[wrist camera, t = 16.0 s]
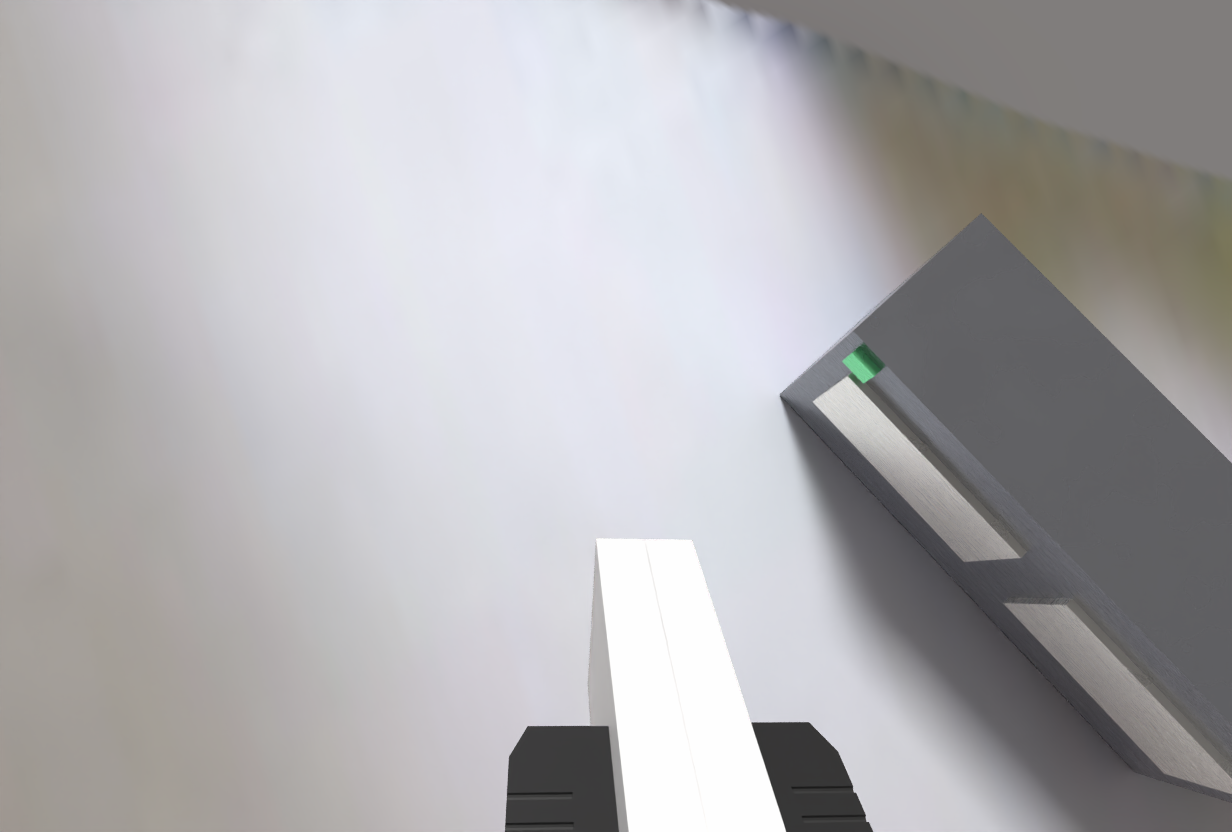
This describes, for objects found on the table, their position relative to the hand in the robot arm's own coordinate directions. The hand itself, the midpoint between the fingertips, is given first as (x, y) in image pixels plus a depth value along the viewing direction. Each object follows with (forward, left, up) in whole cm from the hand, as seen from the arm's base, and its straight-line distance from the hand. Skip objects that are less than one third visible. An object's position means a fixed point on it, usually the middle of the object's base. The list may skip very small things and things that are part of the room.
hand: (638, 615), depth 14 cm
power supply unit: (+14, -9, -20) cm, 26 cm away
